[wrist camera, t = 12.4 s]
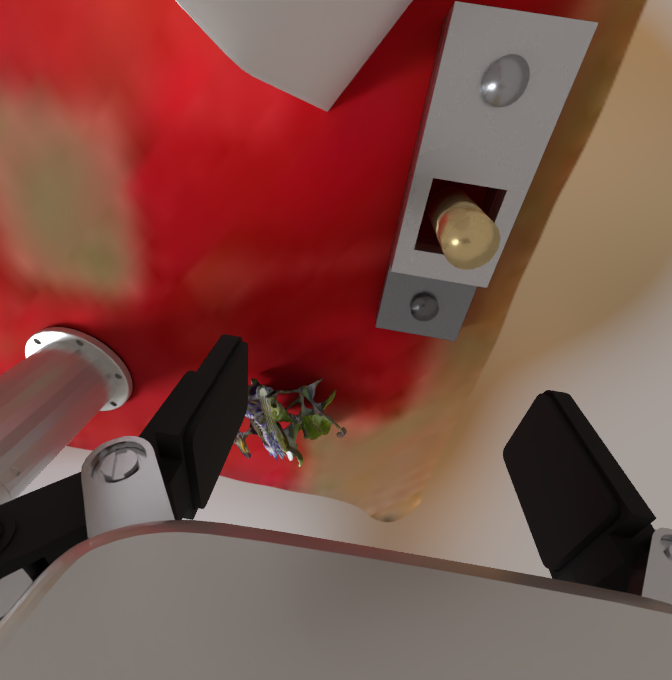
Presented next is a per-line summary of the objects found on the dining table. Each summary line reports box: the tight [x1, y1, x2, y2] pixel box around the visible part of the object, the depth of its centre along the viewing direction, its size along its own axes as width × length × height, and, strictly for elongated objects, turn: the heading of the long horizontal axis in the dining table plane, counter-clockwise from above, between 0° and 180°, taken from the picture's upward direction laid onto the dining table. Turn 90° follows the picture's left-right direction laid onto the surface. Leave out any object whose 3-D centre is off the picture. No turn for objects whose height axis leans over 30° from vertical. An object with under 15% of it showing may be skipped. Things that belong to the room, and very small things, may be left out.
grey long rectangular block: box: [375, 1, 598, 341], centre depth 26 cm, size 22×8×5 cm, turn 173°
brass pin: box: [428, 187, 500, 270], centre depth 24 cm, size 3×3×9 cm
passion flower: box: [234, 378, 346, 467], centre depth 38 cm, size 11×11×12 cm
